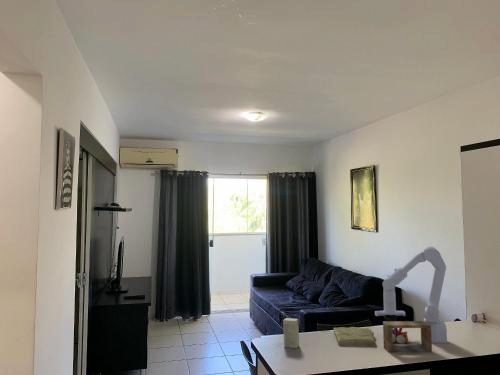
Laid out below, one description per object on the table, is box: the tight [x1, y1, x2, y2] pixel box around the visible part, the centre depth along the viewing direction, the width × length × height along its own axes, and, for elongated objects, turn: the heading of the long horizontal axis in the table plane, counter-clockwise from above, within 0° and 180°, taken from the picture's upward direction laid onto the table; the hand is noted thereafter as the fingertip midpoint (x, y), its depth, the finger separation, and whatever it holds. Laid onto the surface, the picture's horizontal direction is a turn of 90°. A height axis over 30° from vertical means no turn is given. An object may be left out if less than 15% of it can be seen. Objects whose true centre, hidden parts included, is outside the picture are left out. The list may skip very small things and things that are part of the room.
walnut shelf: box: [382, 320, 433, 354], centre depth 169 cm, size 19×7×12 cm, turn 90°
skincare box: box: [282, 317, 300, 349], centre depth 175 cm, size 6×4×12 cm
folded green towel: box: [333, 326, 377, 347], centre depth 184 cm, size 19×20×4 cm
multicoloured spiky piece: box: [392, 328, 409, 344], centre depth 180 cm, size 8×10×7 cm
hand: (390, 330), depth 189 cm, fingers closed
